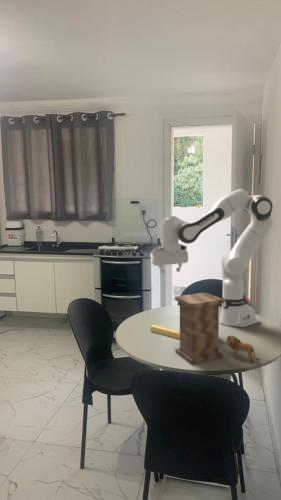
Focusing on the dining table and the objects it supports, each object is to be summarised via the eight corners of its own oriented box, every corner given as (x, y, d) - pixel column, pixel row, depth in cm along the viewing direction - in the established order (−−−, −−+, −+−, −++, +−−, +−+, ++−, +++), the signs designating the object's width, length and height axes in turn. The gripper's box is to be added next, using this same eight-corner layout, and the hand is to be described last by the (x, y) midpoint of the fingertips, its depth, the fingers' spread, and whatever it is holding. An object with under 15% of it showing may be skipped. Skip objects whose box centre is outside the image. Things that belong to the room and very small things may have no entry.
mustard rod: (154, 330, 208) (154, 324, 207) (191, 340, 192) (191, 334, 191) (150, 331, 206) (150, 326, 205) (188, 342, 190) (188, 336, 189)
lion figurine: (224, 356, 172) (224, 336, 171) (228, 352, 176) (229, 333, 175) (257, 363, 164) (257, 343, 162) (261, 359, 168) (261, 339, 167)
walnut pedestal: (205, 346, 183) (205, 292, 180) (223, 357, 170) (223, 299, 167) (175, 352, 177) (174, 296, 173) (191, 364, 164) (191, 304, 161)
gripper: (155, 249, 202) (155, 275, 204) (189, 246, 210) (189, 271, 212) (150, 247, 208) (150, 273, 210) (183, 245, 216) (184, 269, 218)
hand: (170, 272), depth 211 cm, fingers open, 8 cm apart
